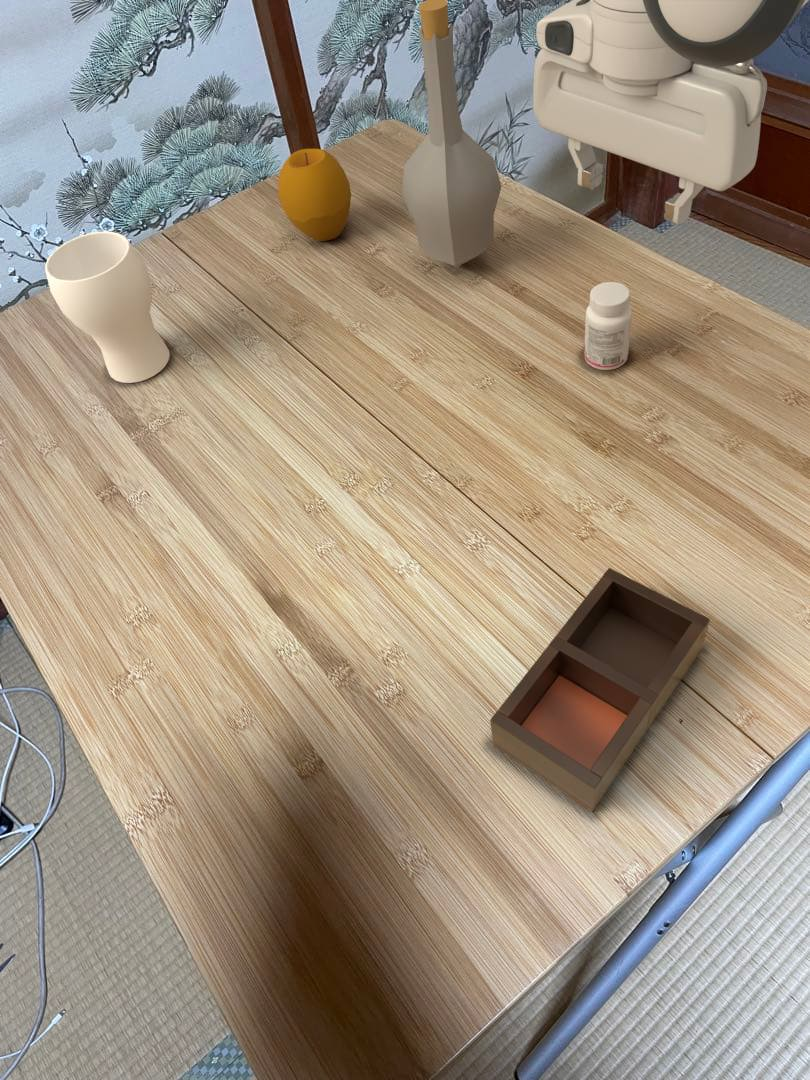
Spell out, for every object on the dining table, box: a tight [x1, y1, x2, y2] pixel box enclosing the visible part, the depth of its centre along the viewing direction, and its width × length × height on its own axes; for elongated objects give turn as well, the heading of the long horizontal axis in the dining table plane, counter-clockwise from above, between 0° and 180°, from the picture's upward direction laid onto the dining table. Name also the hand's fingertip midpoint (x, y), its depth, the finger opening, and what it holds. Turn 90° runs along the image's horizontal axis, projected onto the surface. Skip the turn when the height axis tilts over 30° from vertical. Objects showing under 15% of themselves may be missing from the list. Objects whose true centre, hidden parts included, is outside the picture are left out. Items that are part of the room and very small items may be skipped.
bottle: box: [401, 0, 502, 269], centre depth 95 cm, size 11×11×30 cm
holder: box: [489, 567, 711, 813], centre depth 66 cm, size 17×9×5 cm, turn 141°
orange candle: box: [277, 148, 352, 242], centre depth 111 cm, size 10×10×12 cm
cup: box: [44, 231, 171, 384], centre depth 97 cm, size 11×11×15 cm
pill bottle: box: [583, 281, 633, 371], centre depth 89 cm, size 5×5×8 cm
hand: (631, 201), depth 74 cm, fingers open, 8 cm apart
